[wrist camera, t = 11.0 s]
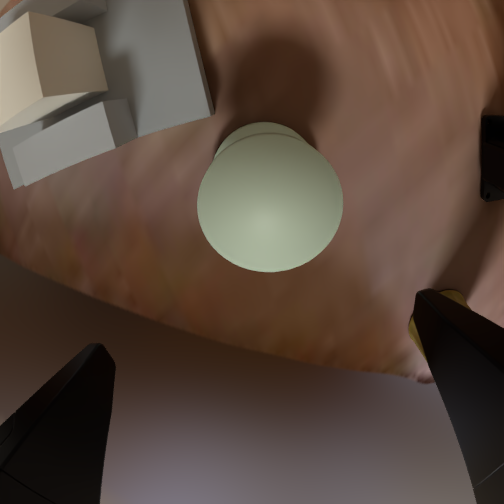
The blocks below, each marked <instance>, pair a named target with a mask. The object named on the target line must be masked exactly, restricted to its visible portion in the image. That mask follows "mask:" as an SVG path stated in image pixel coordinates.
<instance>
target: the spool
mask: <svg viewBox="0 0 504 504" xmlns="http://www.w3.org/2000/svg"><path fill="white" fill-rule="evenodd" d="M197 210H198V217H199V222H200V225H201V228H202V230H203V233H204V235H205V236H206V238H207V240H208V241H209V243H210V244H211V245H212V247H213V248H214V249H215V250H216V251H217V252H218V253H219V254H220V255H222V256H223V257H224V258H225V259H227V260H229V261H230V262H232V263H234V264H236V265H238V266H240V267H243V268H246V269H249V270H254V271H261V272H277V271H284V270H288V269H292V268H295V267H297V266H300V265H302V264H304V263H306V262H308V261H310V260H311V259H313V258H314V257H315V256H317V255H318V254H319V253H320V252H321V251H322V250H323V249H324V248H325V247H326V246H327V245H328V244H329V242H330V241H331V240H332V238H333V237H334V235H335V233H336V231H337V229H338V226H339V224H340V221H341V217H342V211H343V194H342V189H341V185H340V182H339V179H338V177H337V175H336V173H335V171H334V169H333V168H332V166H331V165H330V163H329V162H328V161H327V160H326V159H325V158H324V157H323V156H322V155H321V154H320V153H319V152H318V151H317V150H316V149H314V148H313V147H312V146H311V145H309V144H308V143H307V142H306V141H305V140H304V139H303V138H302V137H301V136H300V135H299V134H297V133H296V132H295V131H294V130H292V129H290V128H288V127H286V126H284V125H281V124H278V123H273V122H255V123H251V124H247V125H245V126H242V127H240V128H238V129H237V130H235V131H234V132H232V133H231V134H230V135H229V136H228V137H227V138H226V139H225V140H224V141H223V142H222V144H221V145H220V147H219V149H218V151H217V153H216V154H215V157H214V160H213V162H212V163H211V164H210V166H209V168H208V170H207V172H206V174H205V176H204V178H203V180H202V183H201V185H200V188H199V193H198V201H197Z"/></svg>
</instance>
